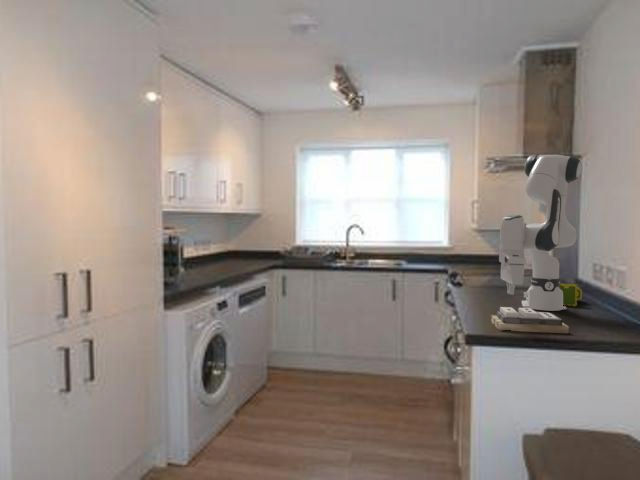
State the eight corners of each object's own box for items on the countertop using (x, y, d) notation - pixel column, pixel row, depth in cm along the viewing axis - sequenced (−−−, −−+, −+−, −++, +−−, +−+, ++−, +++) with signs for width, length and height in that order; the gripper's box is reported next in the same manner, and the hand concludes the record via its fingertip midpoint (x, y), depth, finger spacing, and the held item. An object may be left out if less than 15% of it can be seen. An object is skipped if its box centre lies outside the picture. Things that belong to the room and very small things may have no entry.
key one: (499, 312, 195) (499, 306, 195) (511, 312, 194) (511, 306, 194) (505, 317, 184) (506, 311, 184) (518, 318, 183) (518, 312, 183)
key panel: (490, 321, 198) (491, 310, 198) (554, 323, 194) (554, 312, 194) (499, 330, 182) (499, 318, 182) (568, 333, 179) (568, 321, 178)
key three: (537, 317, 193) (537, 311, 193) (548, 317, 192) (549, 312, 192) (545, 323, 182) (545, 317, 182) (558, 323, 181) (558, 317, 181)
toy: (572, 281, 262) (586, 285, 233) (572, 301, 261) (585, 307, 233) (538, 280, 266) (547, 283, 238) (538, 299, 266) (546, 304, 237)
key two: (518, 312, 194) (518, 307, 194) (530, 313, 193) (530, 307, 193) (525, 318, 183) (525, 312, 183) (538, 319, 182) (538, 313, 182)
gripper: (496, 256, 198) (496, 290, 199) (509, 259, 178) (508, 297, 179) (513, 256, 198) (512, 290, 198) (527, 259, 177) (526, 298, 178)
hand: (510, 294), depth 188 cm, fingers closed
